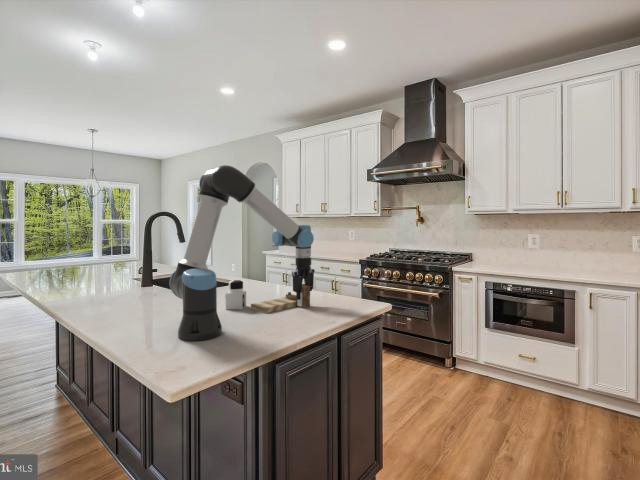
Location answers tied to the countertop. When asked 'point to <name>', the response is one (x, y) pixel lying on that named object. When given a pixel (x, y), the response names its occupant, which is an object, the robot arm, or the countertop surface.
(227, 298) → the container
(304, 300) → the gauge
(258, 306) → the board
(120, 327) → the countertop surface
